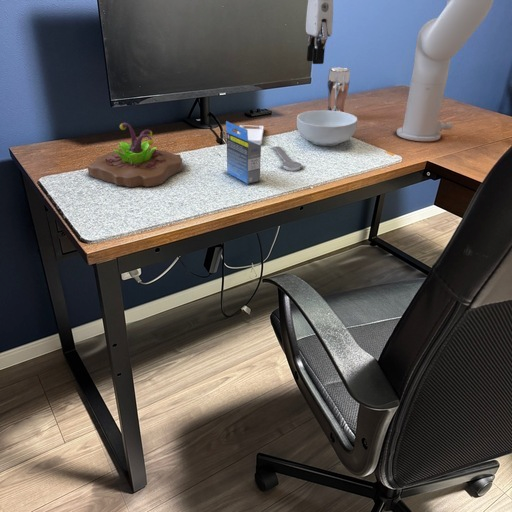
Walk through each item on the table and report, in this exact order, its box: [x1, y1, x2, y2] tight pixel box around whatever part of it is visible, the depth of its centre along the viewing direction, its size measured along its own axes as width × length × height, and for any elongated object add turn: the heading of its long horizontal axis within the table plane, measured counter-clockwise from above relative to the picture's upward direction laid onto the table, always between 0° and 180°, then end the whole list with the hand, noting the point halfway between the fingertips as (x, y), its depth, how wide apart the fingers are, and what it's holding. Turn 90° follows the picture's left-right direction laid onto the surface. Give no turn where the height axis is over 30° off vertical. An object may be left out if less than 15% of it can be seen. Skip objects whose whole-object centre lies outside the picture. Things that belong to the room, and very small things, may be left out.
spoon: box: [273, 146, 302, 172], centre depth 125 cm, size 5×17×1 cm, turn 12°
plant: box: [87, 121, 183, 188], centre depth 112 cm, size 20×20×11 cm
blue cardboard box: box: [225, 120, 262, 185], centre depth 110 cm, size 9×4×12 cm, turn 35°
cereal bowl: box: [296, 109, 358, 147], centre depth 136 cm, size 17×17×7 cm
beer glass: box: [326, 66, 351, 112], centre depth 159 cm, size 7×7×15 cm
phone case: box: [236, 124, 265, 146], centre depth 140 cm, size 7×1×15 cm
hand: (315, 61), depth 140 cm, fingers open, 4 cm apart
